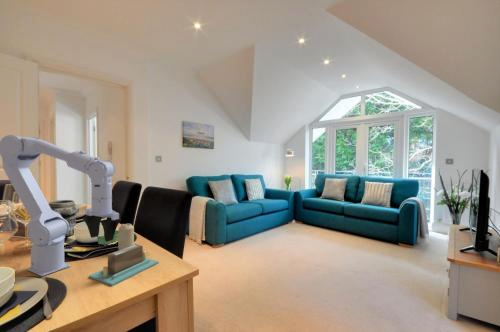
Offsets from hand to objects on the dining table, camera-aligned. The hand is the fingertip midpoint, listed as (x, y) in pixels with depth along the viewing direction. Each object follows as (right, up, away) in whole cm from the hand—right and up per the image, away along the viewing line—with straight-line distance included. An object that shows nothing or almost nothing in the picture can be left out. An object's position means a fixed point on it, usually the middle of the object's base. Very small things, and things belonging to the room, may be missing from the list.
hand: (101, 238), depth 79 cm
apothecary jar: (-30, -9, +21) cm, 38 cm away
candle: (-1, -10, +17) cm, 20 cm away
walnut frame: (+8, -10, -1) cm, 13 cm away
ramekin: (-11, -9, +23) cm, 28 cm away
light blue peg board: (+8, -10, 0) cm, 13 cm away
